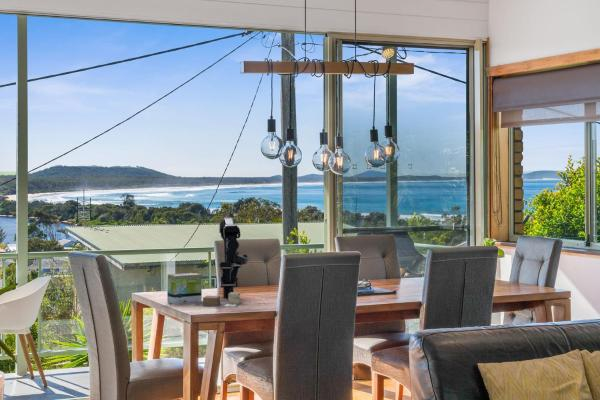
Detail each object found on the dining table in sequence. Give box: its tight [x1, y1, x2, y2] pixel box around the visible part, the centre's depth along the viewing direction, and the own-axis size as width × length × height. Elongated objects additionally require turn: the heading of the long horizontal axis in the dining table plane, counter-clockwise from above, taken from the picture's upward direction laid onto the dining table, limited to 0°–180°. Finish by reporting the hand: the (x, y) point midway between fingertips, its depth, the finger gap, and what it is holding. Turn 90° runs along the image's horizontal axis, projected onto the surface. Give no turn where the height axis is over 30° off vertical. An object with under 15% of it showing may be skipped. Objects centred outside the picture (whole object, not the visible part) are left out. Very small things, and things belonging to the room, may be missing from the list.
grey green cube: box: [227, 291, 241, 304], centre depth 429 cm, size 5×5×5 cm
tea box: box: [166, 272, 203, 305], centre depth 436 cm, size 15×10×15 cm, turn 126°
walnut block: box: [202, 295, 221, 307], centre depth 424 cm, size 7×7×4 cm
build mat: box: [193, 300, 244, 308], centre depth 426 cm, size 16×22×1 cm
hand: (231, 280), depth 428 cm, fingers open, 9 cm apart
